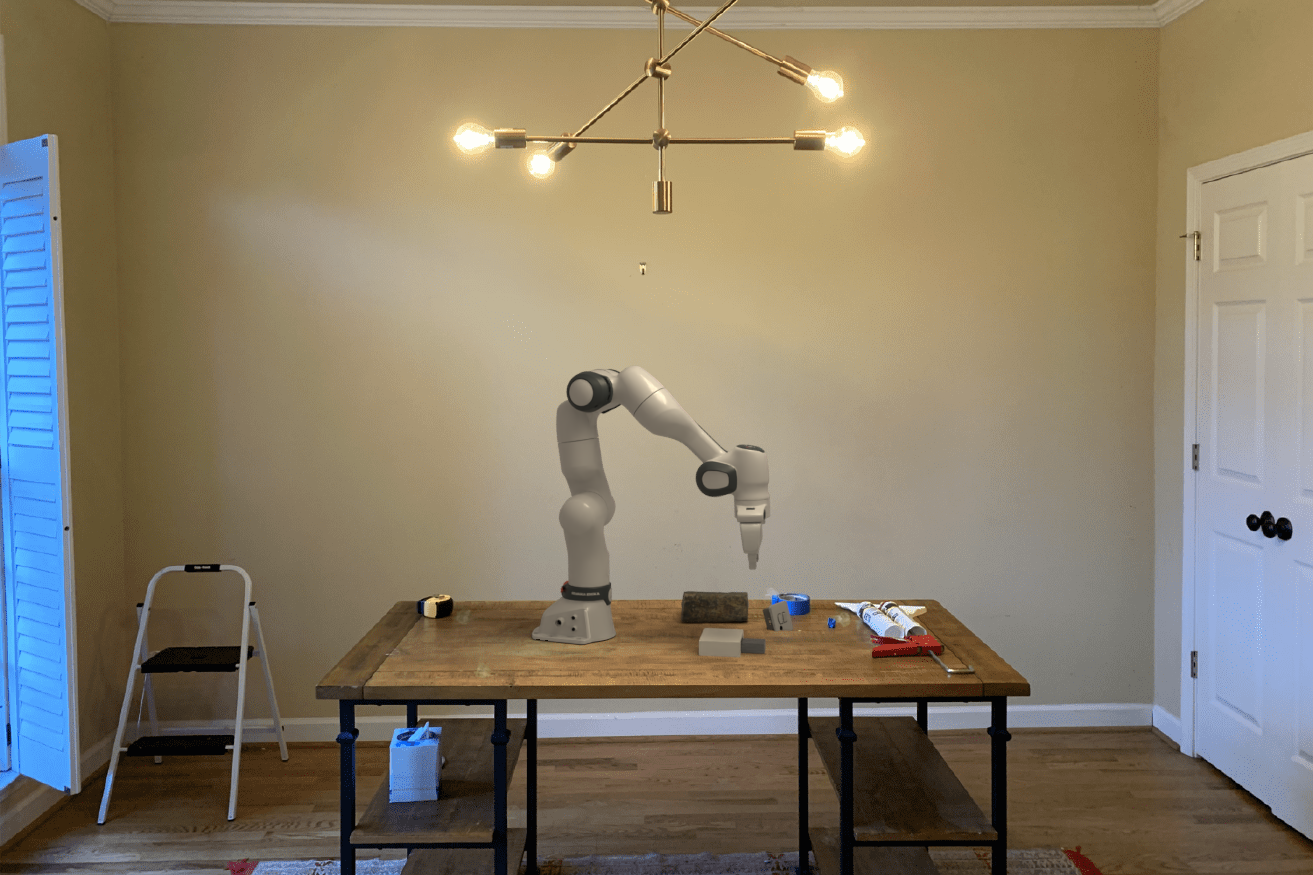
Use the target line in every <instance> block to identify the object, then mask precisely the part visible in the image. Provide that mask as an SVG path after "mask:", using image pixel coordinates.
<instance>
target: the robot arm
mask: <svg viewBox="0 0 1313 875" xmlns="http://www.w3.org/2000/svg"><path fill="white" fill-rule="evenodd" d="M565 392H566V393H565V394H566V398H567V399H566V400H564V401H563V402H561V403H560V404H559V405H558V407H557V409H556V417H555V418H556V419H555V420H556V421H555V425H556V426H555V427H556V429H555V430H556V439H557V440H556V442H557V448H558V453H559V454H558V455H559V461H560V469H561V472H562V475H563V476H564V478H565V480H566V483H567V485H568V489H569V491H570V492H569V493H570V497H568V499H566V501H565V502H564V503H563V504H562V506H561V509H560V511H559V514H558V521H559V525H560V526H561V528H562V529H563V530H562V531H563V536H564V541H565V545H566V551H567V565H568V566H567V567H568V568H567V569H568V571H567V572H568V574H567V575H568V580H566V581H564V582H563V583H562V585H561V588H560V593H561V597H560V598H559V599H557V600H556V601H555V602H553V603H552V604H551V605H550V606H548V607H547V608H546V609H545V610H544V611H543V613H542V614H541V619H540V625H539V626H537V627H535V628H534V629H533V630H532V633H531V638H532V639H533V640H536V639H540V640H539V641H545V640H548V641H547V642H555V643H556V642H557V643H563V644H564V643H566V644H575V645H586V644H590V643H594V642H599V641H604V640H605V641H606V640H608V639H612V638H614V637H615V636H616V635H617V632H616V629H615V625H614V619H613V615H612V607H611V603H612V600H613V599H612V598H613V591H612V589H613V588H612V582H611V581H610V552H609V551H608V548H607V544H606V543H607V542H606V538H605V534H604V533H605V532H604V531H605V530H604V528H605V526H607V525H608V524H609V523H610V522H611V521H612V519H613V517H614V514H615V511H616V502H615V499H614V497H613V495H612V492H611V488H610V485H609V482H608V479H607V476H606V473H605V468H604V464H603V460H602V459H603V458H602V452H601V445H600V444H601V443H600V438H599V432H598V418H599V416H600V414H602V415H605V414H607V413H609V412H611V411H613V410H615V409H617V408H619V407H621V406H623V407H624V408H625V409H626V410H627V411H628V412H629V413H630V414H631V416H633V418H634V419H635V420H636V421H637V422H638V423H639V424H640V425H641V426H642V428H644V429H645V430H647V431H648V432H650V433H651V434H653V435H656V436H659V437H663V438H668V439H671V440H675V441H677V442H679V443H681V444H683V445H684V446H685V447H686V448H687V449H688V450H690V451H691V452H692V453H693V455H694V456H695V457H697V459H698V460H699V461H701V462H702V463H701V465H699V466H698V468H697V470H696V472H695V484H696V486H697V489H698V490H699V491H700V493H702V494H703V495H705V496H707V497H711V498H720V497H724V496H726V495H732V496H733V505H734V508H733V509H734V513H733V514H734V518H735V519H736V520H737V523H739V531H740V539H741V547H742V551H743V553H744V554H747V561H748V569H749V570H756V569H757V563H758V562H759V560H760V559H759V557H760V548H761V546H762V542H763V536H764V535H763V525H765V524H766V520H767V518H770V517H771V501H770V498H771V497H770V493H769V483H770V470H769V463H768V462H769V461H768V457H767V452H766V451H765V450H764V449H763V448H761V447H760V446H757V445H752V444H738V445H735V446H734V447H733V448H732V449H730V450H729V451H728V450H726V449H724V448H723V447H722V446H721V445H720V444H719V443H718V442H717V441H716V440H715V439H714V438H713V437H712V436H711V435H710V434H709V433H708V432H707V431H706V430H705V429H704V428H703V427H702V426H701V425H699V423H697V421H696V420H694V418H692V416H691V415H690V414H689V413H688V412H687V411H686V410H685V409H684V408H683V407H682V405H681V404H680V403H679V401H678V400H677V399H676V398H675V397H674V396H673V395H672V394H671V391H669V390H668V389H667V388H666V386H664V385H663V384H662V382H660V381H659V380H658V379H657V378H656V377H655V376H654V375H652V374H651V373H650V372H649V371H648V370H646V369H645V368H644V367H642V366H640V365H630V366H628V367H625V368H624V369H623V370H621V371H619V370H617V369H614V368H613V369H612V368H608V369H607V368H596V369H592V370H585V371H584V370H583V371H581V372H579V373H576V374H575V375H574V376H572V377H571V378H570V380H569V381H568V384H567V386H566V391H565Z"/></svg>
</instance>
